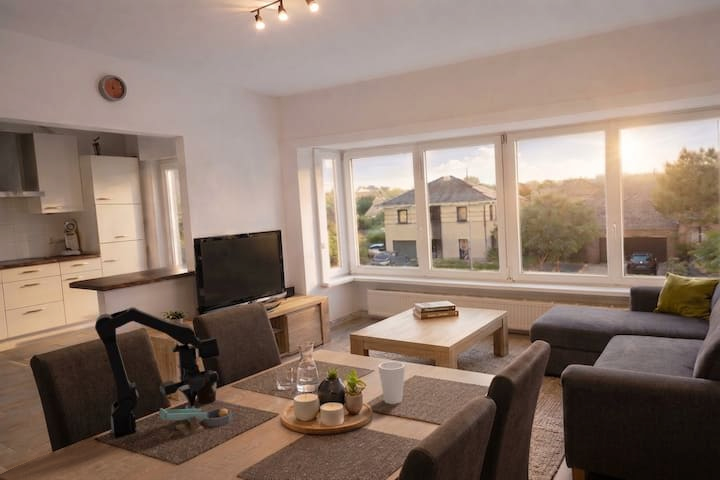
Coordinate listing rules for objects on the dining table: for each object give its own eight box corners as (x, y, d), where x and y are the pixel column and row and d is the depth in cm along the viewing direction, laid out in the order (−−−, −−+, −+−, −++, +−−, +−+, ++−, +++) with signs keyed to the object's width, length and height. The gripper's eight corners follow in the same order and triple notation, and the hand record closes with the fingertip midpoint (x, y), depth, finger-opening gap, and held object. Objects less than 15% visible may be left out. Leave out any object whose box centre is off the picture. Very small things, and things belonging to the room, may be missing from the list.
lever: (164, 420, 166) (165, 412, 167) (150, 409, 177) (151, 401, 177) (207, 419, 175) (208, 411, 175) (191, 408, 186) (192, 400, 186)
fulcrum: (163, 443, 165) (162, 427, 164) (154, 435, 171) (153, 419, 171) (203, 430, 173) (202, 415, 173) (193, 422, 180) (192, 408, 179)
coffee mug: (204, 406, 194) (202, 380, 193) (190, 402, 199) (188, 376, 198) (229, 396, 203) (228, 371, 202) (215, 392, 208) (213, 367, 207)
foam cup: (406, 405, 186) (405, 369, 185) (380, 406, 186) (378, 370, 185) (405, 395, 195) (403, 360, 194) (380, 396, 195) (378, 361, 194)
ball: (222, 421, 180) (219, 413, 179) (218, 418, 182) (215, 410, 182) (231, 416, 182) (228, 408, 181) (227, 413, 184) (224, 405, 183)
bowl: (211, 428, 174) (210, 421, 174) (200, 420, 181) (200, 413, 181) (235, 420, 180) (235, 413, 180) (224, 413, 187) (224, 406, 187)
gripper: (169, 374, 170) (173, 421, 171) (223, 360, 182) (227, 404, 183) (157, 366, 179) (161, 411, 180) (210, 354, 190) (213, 396, 192)
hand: (191, 406), depth 183 cm, fingers closed
